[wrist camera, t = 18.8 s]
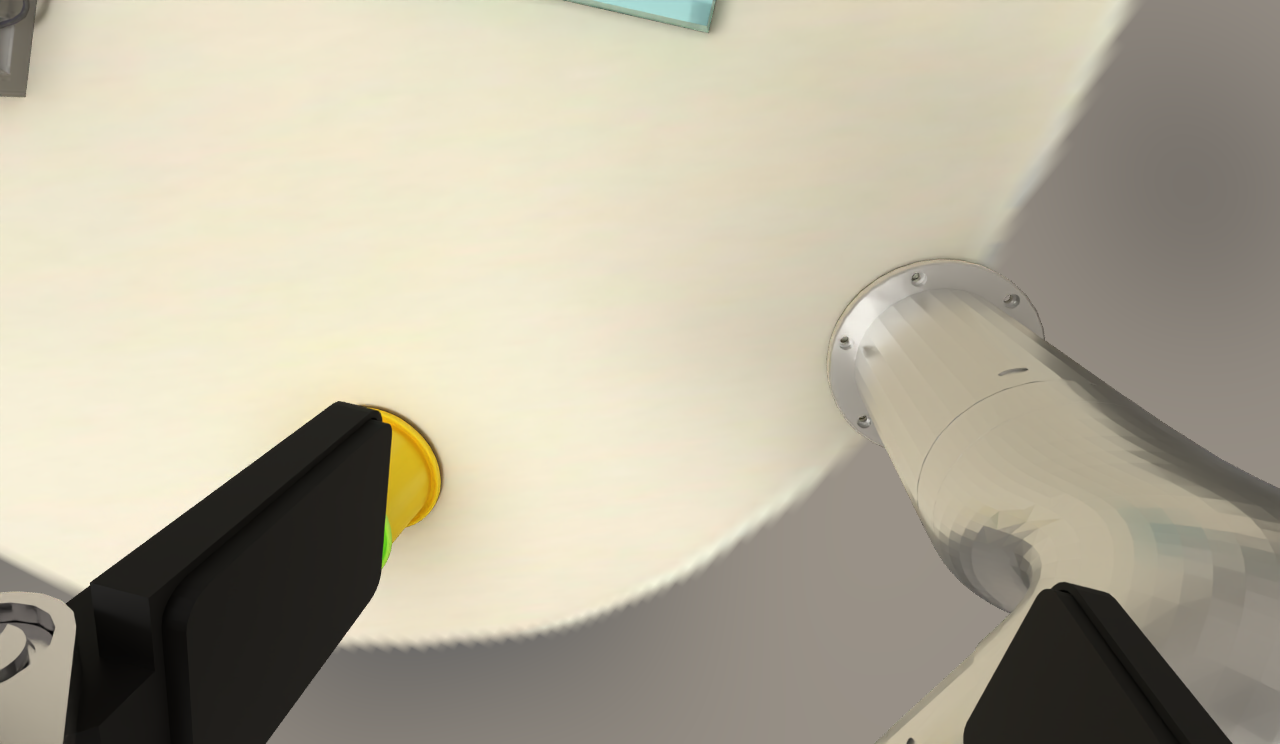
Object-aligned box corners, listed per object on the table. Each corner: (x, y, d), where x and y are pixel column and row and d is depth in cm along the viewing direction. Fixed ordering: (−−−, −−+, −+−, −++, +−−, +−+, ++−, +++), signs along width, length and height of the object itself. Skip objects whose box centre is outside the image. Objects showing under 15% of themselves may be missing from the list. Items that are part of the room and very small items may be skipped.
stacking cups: (434, 540, 51) (-46, 1245, 19) (308, 505, 52) (-375, 1144, 20) (452, 426, 48) (-110, 1068, 16) (315, 387, 48) (-519, 943, 16)
